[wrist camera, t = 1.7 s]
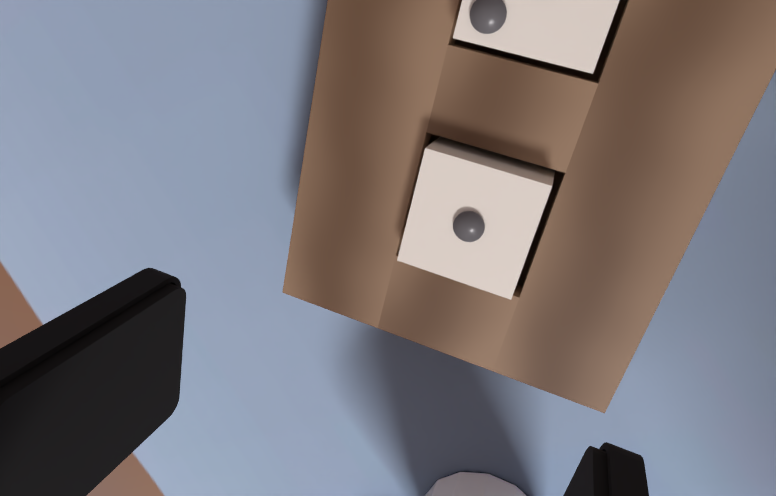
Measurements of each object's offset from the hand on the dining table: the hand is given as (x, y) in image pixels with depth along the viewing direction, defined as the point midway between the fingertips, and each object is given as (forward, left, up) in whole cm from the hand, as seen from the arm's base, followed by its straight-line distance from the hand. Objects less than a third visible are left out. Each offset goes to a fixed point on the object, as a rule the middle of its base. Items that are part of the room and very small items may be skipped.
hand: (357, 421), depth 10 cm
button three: (0, -8, -14) cm, 16 cm away
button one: (0, 0, -14) cm, 14 cm away
